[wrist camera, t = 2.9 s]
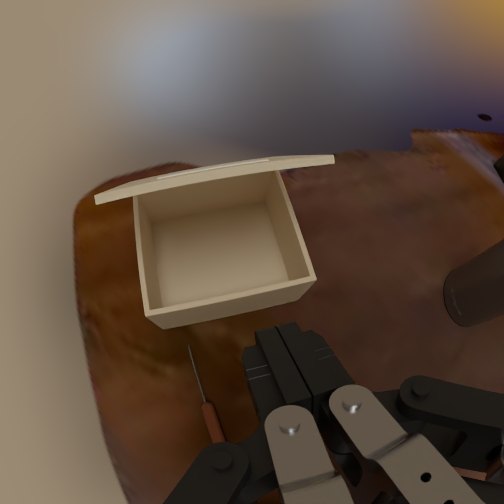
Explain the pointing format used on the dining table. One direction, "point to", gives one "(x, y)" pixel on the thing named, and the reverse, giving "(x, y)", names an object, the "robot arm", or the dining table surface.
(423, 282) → the dining table surface
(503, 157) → the dark brown block
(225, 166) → the box lid
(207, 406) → the screwdriver
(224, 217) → the cardboard box
